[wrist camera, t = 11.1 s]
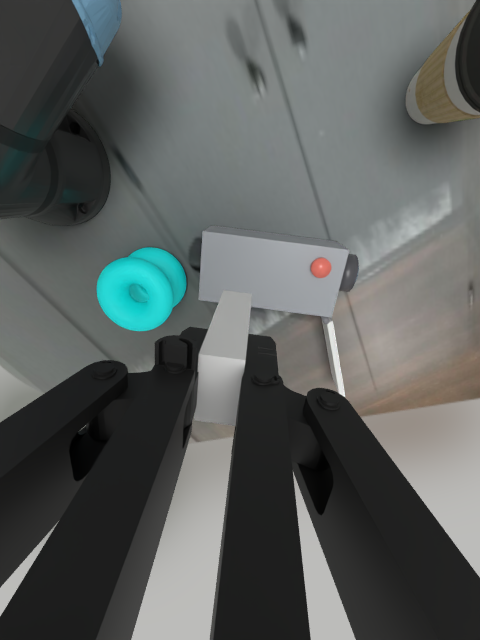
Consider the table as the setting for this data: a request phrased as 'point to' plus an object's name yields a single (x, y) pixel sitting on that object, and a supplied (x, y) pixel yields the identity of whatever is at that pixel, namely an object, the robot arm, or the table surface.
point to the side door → (333, 353)
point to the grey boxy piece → (275, 269)
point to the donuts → (141, 288)
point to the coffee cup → (449, 77)
